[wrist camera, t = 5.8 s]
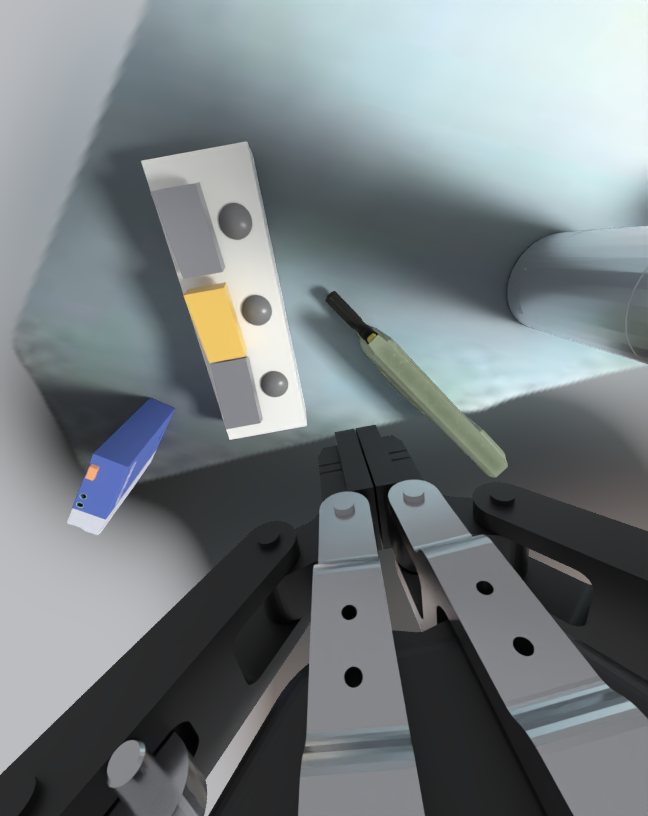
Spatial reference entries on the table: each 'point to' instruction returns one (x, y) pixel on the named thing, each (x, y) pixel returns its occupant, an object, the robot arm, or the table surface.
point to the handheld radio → (423, 392)
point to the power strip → (242, 274)
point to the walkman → (119, 466)
